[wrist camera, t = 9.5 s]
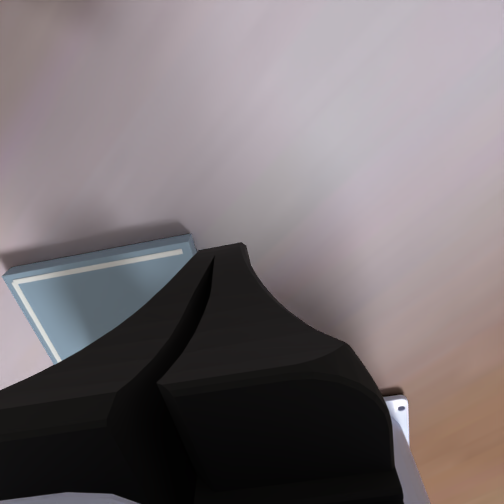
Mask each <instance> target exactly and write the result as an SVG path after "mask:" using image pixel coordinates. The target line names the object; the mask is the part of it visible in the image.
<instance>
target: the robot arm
mask: <svg viewBox="0 0 504 504" xmlns="http://www.w3.org/2000/svg"><path fill="white" fill-rule="evenodd" d="M0 504H431V503H430V500H429V497H428V495H427V492H426V490H425V487H424V484H423V482H422V479H421V477H420V474H419V471H418V469H417V466H416V463H415V461H414V458H413V456H412V453H411V450H410V447H409V415H408V400H407V398H406V397H405V396H404V395H394V396H387V397H383V396H382V394H381V393H380V391H379V389H378V387H377V385H376V383H375V382H374V380H373V378H372V377H371V375H370V374H369V372H368V371H367V369H366V368H365V366H364V365H363V363H362V362H361V360H360V359H359V358H358V356H357V355H356V354H355V352H354V351H353V350H352V348H351V347H350V346H349V345H348V344H347V343H345V342H343V341H340V340H338V339H336V338H333V337H331V336H329V335H326V334H324V333H322V332H319V331H317V330H315V329H314V328H312V327H310V326H309V325H307V324H306V323H304V322H303V321H302V320H300V319H299V318H297V317H296V316H295V315H293V314H292V313H291V312H289V311H288V310H287V309H286V308H285V307H284V306H283V305H281V304H280V303H279V302H278V301H277V300H276V299H275V298H274V297H273V296H272V295H271V293H270V292H269V291H268V290H267V289H266V287H265V286H264V285H263V284H262V282H261V281H260V279H259V278H258V277H257V275H256V273H255V272H254V270H253V268H252V267H251V264H250V259H249V255H248V251H247V247H246V245H245V244H243V243H242V242H241V243H235V244H230V245H225V246H219V247H214V248H209V249H203V250H199V251H198V252H197V253H196V254H195V255H194V256H193V257H192V258H191V259H190V260H189V261H188V262H187V263H186V264H185V265H184V266H183V267H182V268H181V270H180V271H179V272H178V273H177V274H176V275H175V276H174V277H173V278H172V279H171V280H170V281H169V282H168V283H167V284H166V285H165V286H164V287H163V288H162V289H161V290H160V291H159V292H158V293H156V294H155V295H154V296H153V297H152V298H151V299H150V300H149V301H148V302H147V303H146V304H145V305H143V306H142V307H141V308H140V309H139V310H138V311H136V312H135V313H134V314H133V315H131V316H130V317H129V318H127V319H126V320H125V321H123V322H122V323H121V324H120V325H118V326H117V327H115V328H114V329H113V330H111V331H110V332H108V333H106V334H105V335H103V336H102V337H100V338H99V339H97V340H96V341H94V342H93V343H91V344H89V345H88V346H86V347H85V348H83V349H82V350H80V351H78V352H76V353H75V354H73V355H71V356H69V357H68V358H66V359H64V360H62V361H60V362H59V363H57V364H55V365H53V366H51V367H49V368H47V369H45V370H43V371H41V372H39V373H37V374H35V375H33V376H31V377H29V378H27V379H25V380H22V381H20V382H18V383H16V384H13V385H11V386H9V387H7V388H4V389H2V390H0Z"/></svg>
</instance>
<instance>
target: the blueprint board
mask: <svg viewBox="0 0 504 504" xmlns="http://www.w3.org/2000/svg"><path fill="white" fill-rule="evenodd" d="M196 253H197V251H196V248H195V245H194V242H193V238H192V235H191V234H186V235H180V236H175V237H170V238H164V239H159V240H154V241H149V242H143V243H138V244H133V245H127V246H122V247H117V248H111V249H106V250H101V251H96V252H90V253H85V254H80V255H74V256H69V257H64V258H58V259H53V260H48V261H43V262H37V263H32V264H27V265H21V266H16V267H11V268H10V269H9V270H8V271H7V272H6V273H5V274H4V275H3V276H2V278H3V279H4V281H5V283H6V284H7V286H8V288H9V289H10V291H11V293H12V294H13V296H14V298H15V299H16V301H17V303H18V305H19V306H20V308H21V310H22V311H23V313H24V315H25V316H26V318H27V320H28V321H29V323H30V325H31V327H32V328H33V330H34V332H35V333H36V335H37V337H38V338H39V340H40V342H41V343H42V345H43V347H44V348H45V350H46V352H47V354H48V355H49V357H50V359H51V360H52V362H53V364H54V365H55V364H57V363H59V362H60V361H62V360H64V359H66V358H68V357H69V356H71V355H73V354H75V353H76V352H78V351H80V350H82V349H83V348H85V347H86V346H88V345H89V344H91V343H93V342H94V341H96V340H97V339H99V338H100V337H102V336H103V335H105V334H106V333H108V332H110V331H111V330H113V329H114V328H115V327H117V326H118V325H120V324H121V323H122V322H123V321H125V320H126V319H127V318H129V317H130V316H131V315H133V314H134V313H135V312H136V311H138V310H139V309H140V308H141V307H142V306H143V305H145V304H146V303H147V302H148V301H149V300H150V299H151V298H152V297H153V296H154V295H155V294H156V293H158V292H159V291H160V290H161V289H162V288H163V287H164V286H165V285H166V284H167V283H168V282H169V281H170V280H171V279H172V278H173V277H174V276H175V275H176V274H177V273H178V272H179V271H180V270H181V268H182V267H183V266H184V265H185V264H186V263H187V262H188V261H189V260H190V259H191V258H192V257H193V256H194V255H195V254H196Z"/></svg>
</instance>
